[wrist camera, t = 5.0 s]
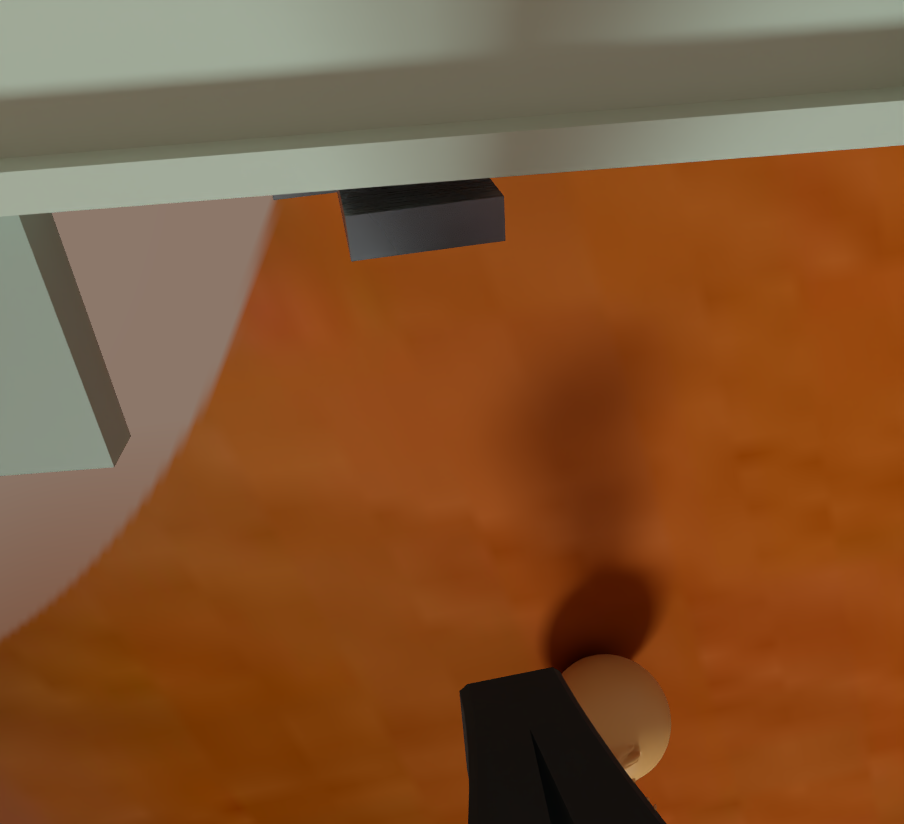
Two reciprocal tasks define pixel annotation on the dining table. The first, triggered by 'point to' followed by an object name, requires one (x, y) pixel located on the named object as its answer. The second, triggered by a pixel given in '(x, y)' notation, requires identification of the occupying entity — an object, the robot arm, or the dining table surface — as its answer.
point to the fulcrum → (418, 216)
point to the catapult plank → (373, 126)
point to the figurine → (623, 709)
